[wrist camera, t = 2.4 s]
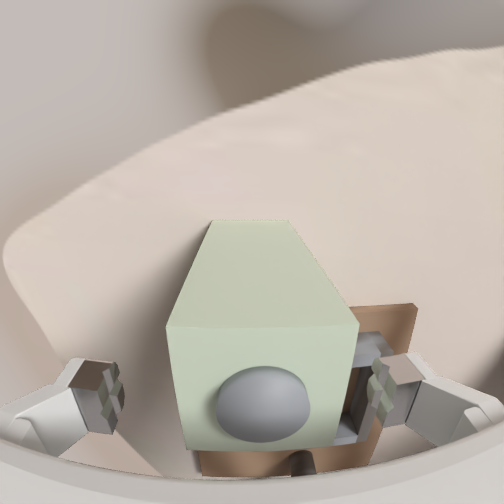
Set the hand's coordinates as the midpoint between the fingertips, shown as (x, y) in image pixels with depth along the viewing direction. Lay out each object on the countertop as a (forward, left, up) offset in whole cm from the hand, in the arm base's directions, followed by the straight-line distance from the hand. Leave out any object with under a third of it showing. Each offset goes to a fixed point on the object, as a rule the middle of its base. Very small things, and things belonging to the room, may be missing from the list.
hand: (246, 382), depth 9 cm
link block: (0, 0, -13) cm, 13 cm away
